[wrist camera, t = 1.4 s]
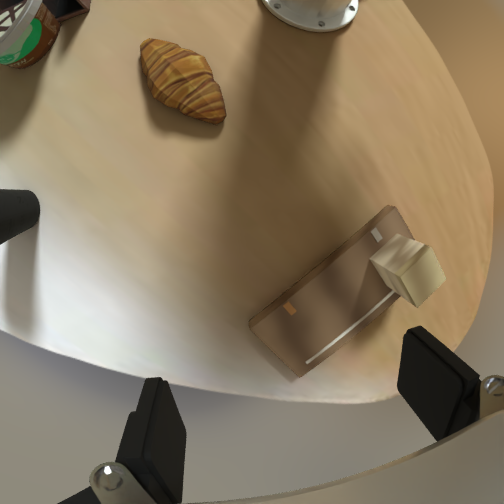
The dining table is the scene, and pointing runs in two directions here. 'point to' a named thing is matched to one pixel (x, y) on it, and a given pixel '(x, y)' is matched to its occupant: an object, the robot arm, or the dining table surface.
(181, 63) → the croissant
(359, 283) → the walnut board
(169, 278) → the dining table surface
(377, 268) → the block
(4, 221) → the drinking cup
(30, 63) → the food container
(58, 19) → the letter holder
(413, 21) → the dining table surface
